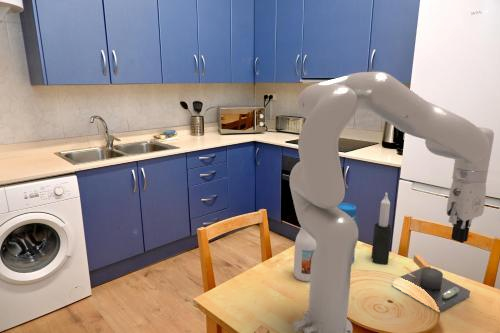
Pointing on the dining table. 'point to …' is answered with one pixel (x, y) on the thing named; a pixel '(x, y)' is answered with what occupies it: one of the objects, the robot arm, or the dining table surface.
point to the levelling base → (441, 291)
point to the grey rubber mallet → (428, 274)
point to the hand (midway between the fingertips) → (459, 240)
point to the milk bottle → (303, 255)
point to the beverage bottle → (351, 212)
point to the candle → (382, 235)
